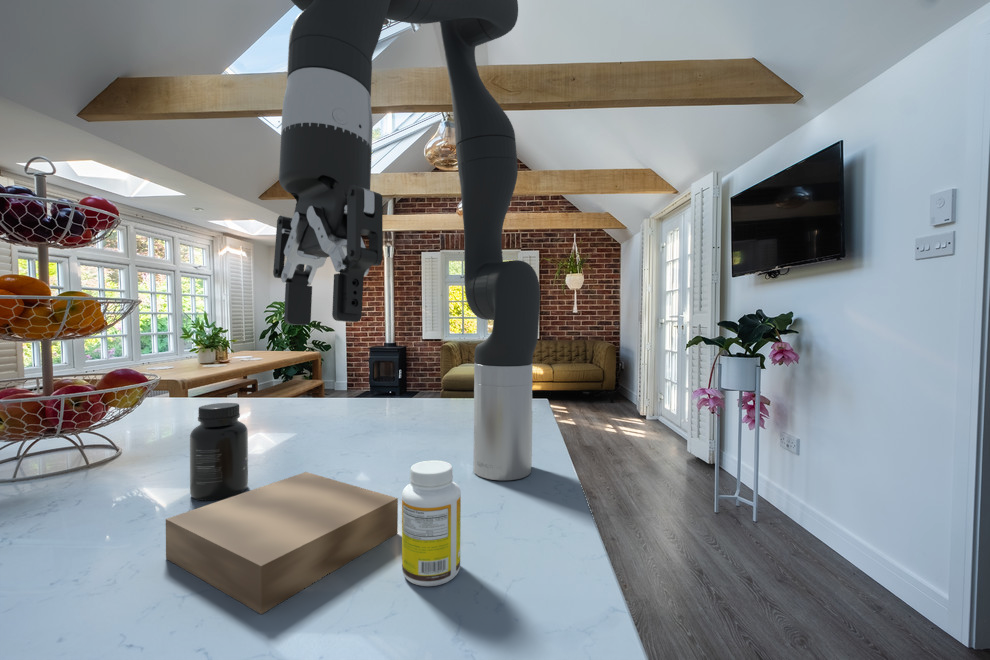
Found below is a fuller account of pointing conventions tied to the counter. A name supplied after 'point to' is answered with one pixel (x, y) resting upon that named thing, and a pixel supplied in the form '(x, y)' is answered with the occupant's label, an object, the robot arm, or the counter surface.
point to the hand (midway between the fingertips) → (320, 323)
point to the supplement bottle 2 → (431, 524)
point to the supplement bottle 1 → (218, 453)
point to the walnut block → (279, 536)
